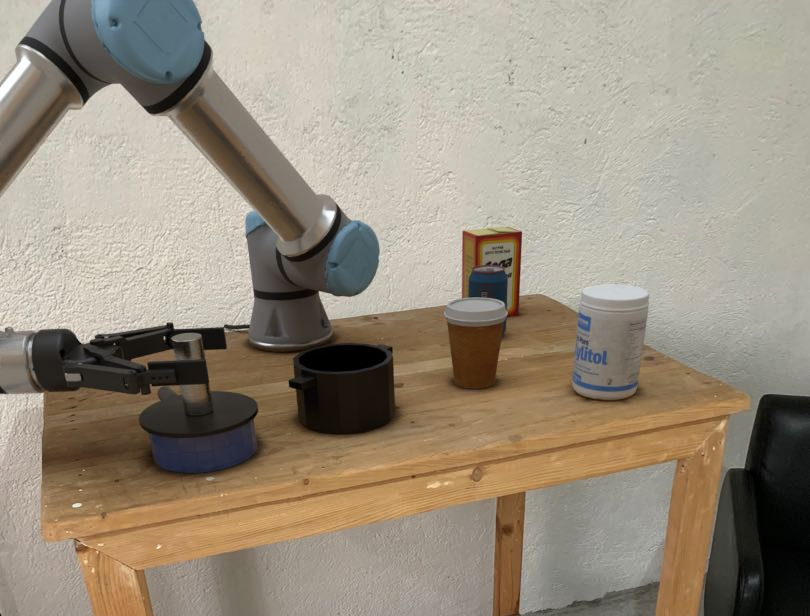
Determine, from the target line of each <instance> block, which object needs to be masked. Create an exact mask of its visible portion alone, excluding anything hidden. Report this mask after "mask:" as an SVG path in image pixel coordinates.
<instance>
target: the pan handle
mask: <svg viewBox="0 0 810 616" xmlns="http://www.w3.org/2000/svg"><path fill="white" fill-rule="evenodd" d="M178 395H179V393H176V391H175V390H173V388H172V387H170V386H160V387H159V388H158V390H157V397H158V399H159V401H161V400H164V399H167V398H170V397H174V396H178Z"/></svg>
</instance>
